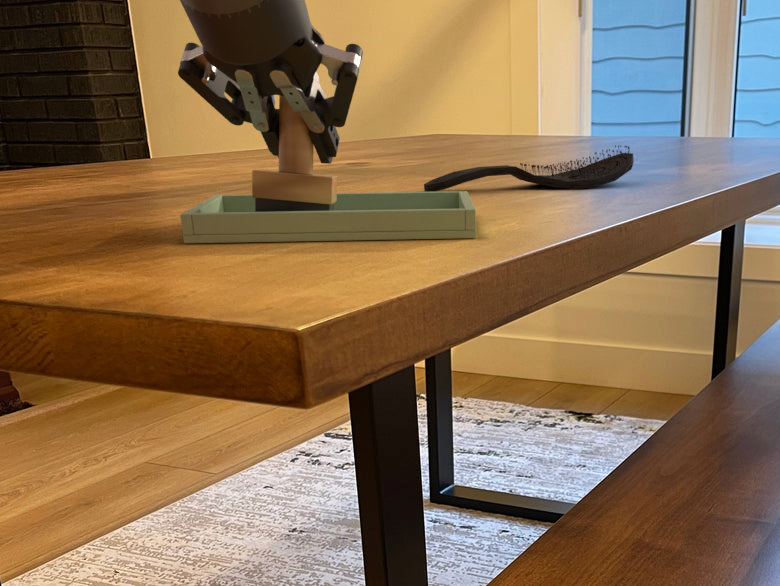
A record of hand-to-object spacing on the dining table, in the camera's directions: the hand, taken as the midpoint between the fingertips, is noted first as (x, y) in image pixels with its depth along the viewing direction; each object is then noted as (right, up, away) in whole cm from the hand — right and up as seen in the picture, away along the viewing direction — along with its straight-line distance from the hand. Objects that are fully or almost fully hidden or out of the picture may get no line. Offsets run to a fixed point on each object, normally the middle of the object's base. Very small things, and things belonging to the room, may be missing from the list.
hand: (307, 153), depth 79 cm
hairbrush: (+18, +7, +32) cm, 37 cm away
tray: (+2, -5, +2) cm, 6 cm away
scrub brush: (-1, -5, 0) cm, 5 cm away
